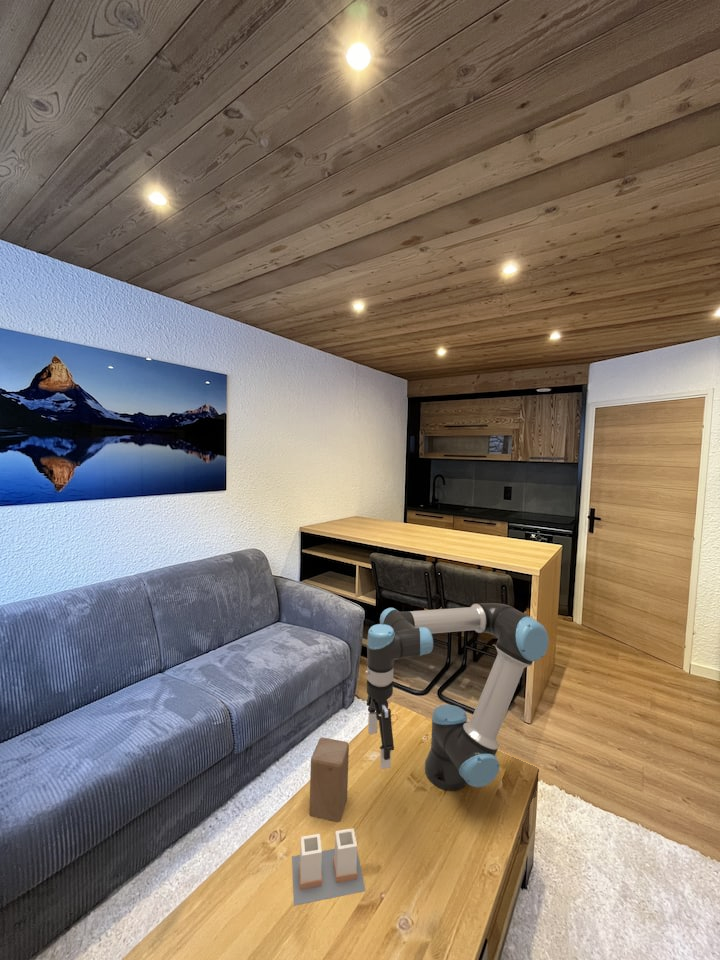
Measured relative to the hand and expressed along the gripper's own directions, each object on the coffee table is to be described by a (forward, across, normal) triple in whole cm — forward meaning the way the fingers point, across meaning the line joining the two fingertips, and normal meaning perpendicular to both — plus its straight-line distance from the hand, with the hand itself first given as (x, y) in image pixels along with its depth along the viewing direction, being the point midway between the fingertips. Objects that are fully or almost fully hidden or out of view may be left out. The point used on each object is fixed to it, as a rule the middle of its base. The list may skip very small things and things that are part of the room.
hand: (378, 749), depth 116 cm
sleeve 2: (+24, +10, -12) cm, 29 cm away
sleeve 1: (+24, +10, -21) cm, 33 cm away
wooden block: (+26, -10, -13) cm, 31 cm away
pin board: (+26, +10, -16) cm, 32 cm away
